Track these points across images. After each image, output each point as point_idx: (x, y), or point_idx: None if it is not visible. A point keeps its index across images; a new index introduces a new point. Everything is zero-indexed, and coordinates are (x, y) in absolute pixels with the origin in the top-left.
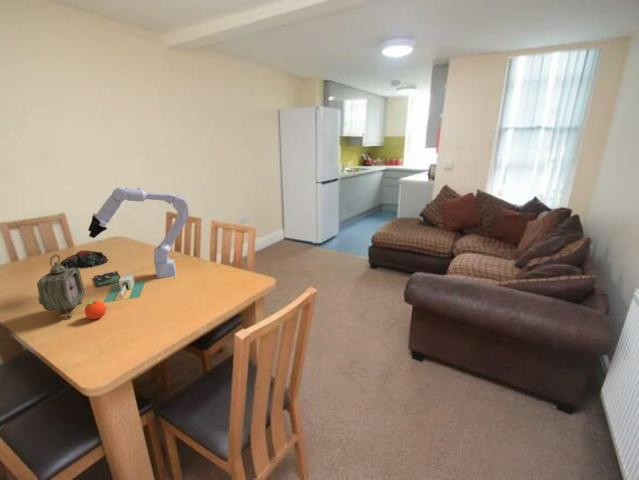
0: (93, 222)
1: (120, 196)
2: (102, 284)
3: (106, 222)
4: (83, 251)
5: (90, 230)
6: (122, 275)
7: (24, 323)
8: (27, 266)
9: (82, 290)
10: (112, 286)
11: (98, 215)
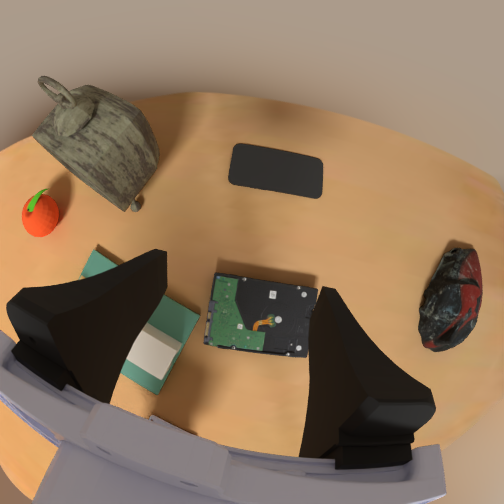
0: (335, 364)
1: None
2: (212, 287)
3: (40, 433)
4: (474, 298)
5: (317, 305)
6: (162, 345)
7: (150, 112)
8: (484, 199)
9: (115, 204)
10: (186, 308)
11: (65, 467)
